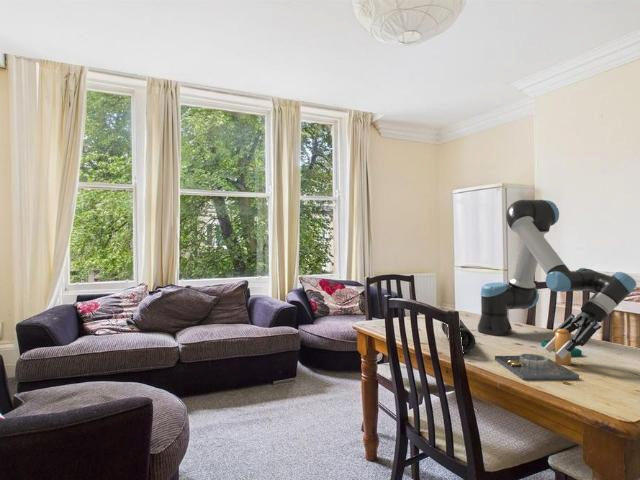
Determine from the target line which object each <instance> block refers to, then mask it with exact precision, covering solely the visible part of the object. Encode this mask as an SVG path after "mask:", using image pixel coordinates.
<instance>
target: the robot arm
mask: <svg viewBox="0 0 640 480" xmlns="http://www.w3.org/2000/svg"><path fill="white" fill-rule="evenodd" d="M505 215H506V217H505V219H506V222H507V225H508V227H509V228H510V230H511V231H512V232H513V233H517V235H518V237H519V238H520V239H521V243H520V246H519V251H518V255H517V258H516V259H517V260H516V264H515V268H514V269H515V270H514V273H513V277H511V278H509V280H508V283H505V282H501V281H500V282H499V281H498V282H489V283H485V284H483V285H482V287H481V290H480V298H481V300H480V301H481V302H480V303H481V305H480V306H481V307H480V308H481V309H480V311H481V312H480V313H481V315H480V317H479V321H478V323H477V332H479V333H481V334H485V335H491V336H492V335H493V336H510V335H511V334H512V333H513V328H512V325H511V322H510V320H509V316H508V315H509V312H508V311H509V310H526V309H531V308H533V307H535V306H536V305H537V303H538V301H539V298H540V297H539V295H540V294H539V293H538V292H539V290H538V288H537V287H536V283H535V282H534V278H535V275H536V271H537V268H538V266H537V265H538V264H539V266H540V268H541V269H542V270H543V272H544V273H545V274H546V276H545V283H546V287H547V288H548V290H550V291H552V292H561V293H566V292H583V291H586V292H587V291H591V292H594V294H593V295H591V297H590V298H589V299H588V301H586V302H585V303H584V304H583V305H582V306H581V307H580V310H581V311H580V313H579V314H577V315H575V314H574V313H571V314H570V315H569V316H568V317H567V318H566V320H565V321H564V322H562V323H561V324H560V325H559V326H558V327H557V328H555V330H553V333H554V334H555V332H556V331H557V329H566V330H569V333H571V334H572V333H573V332H575V333H574V335H573V337H571V339H570V340H571V341H570V340H568V341H567V342H566V343H565V344H564V345H563V346H562V347H561V348H560V349H559V351H558V352H557V353H556V354H557V355H558V356H559V357H560V358H561V359H563V358H564V357H565V356H566V355H567V354H568V353H569V352H571V351H572V350H573V349H574V348H577V347H578V346H580V347H584V346H585V345H586V344H587V343H588V342H589V341H590V339H591V338H592V336H593V335H594V334H595V333H596V332H597V331H598V330H600V329H601V328H602V325H601V324H600V323H602V322H604V320H605V319H606V318H607V317H608V315H609V314H611V313H612V311H614V310H615V309H616V308H617V307H618V306H619V305H620V303H621V302H622V301H624V300H625V299H626V298H627V297H628V296H629V295H631V293H632V291H633V290H634V289H635V288H636V287H637V281H636V280H635V279H634V278H633V277H632V276H631V275H629V274H627V273H625V272H622V271H617V272H615V273H613V274H612V275H607V274H605V273H603V272H599V271H596V270H594V269H591V268H586V267H580V268H578V269H577V270H574V271H572V270H570V269H569V267H568V266H567V265H566V264H565V262H564V261H563V259H562V258H561V257H560V256H559V254H558V253H557V252H556V251H555V249H554V248H553V246H552V245H551V244H550V242H548V240H547V238H546V237H545V235H546V234H547V233H549V232H550V229H551V226H554V225H556V224H557V222H558V220H559V219H560V210H559V208H558V206H557V205H556V203H555V202H553V201H551V200H548V199H547V200H545V199H519V200H516V201H514V202H512V203H511V204H510V205H509V206H508V208H507V210H506V213H505ZM550 340H551V341H550V342H549V343H548V344H547V345H546V346H545V347H543V348H544V349H545V350H546V351H547V352H548V353H549V354H551V353H552V352H554V351H553V350H554V349H555V336H553V338H551V339H550Z"/></svg>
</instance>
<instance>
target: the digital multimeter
mask: <svg viewBox="0 0 640 480" xmlns="http://www.w3.org/2000/svg"><path fill="white" fill-rule="evenodd" d="M551 340H552V339H547V340H542V341H541V343H540V345H541V346H540V347H542V348H544V347H545V346H546V345H547V344H548V343H549V342H550V341H551ZM552 352H554V353H555V349H554V350H553V351H552ZM581 356H583V351H582V350H581V349H580V348H577V347H575V348H574V349H573V350H572V351H571V357H581Z"/></svg>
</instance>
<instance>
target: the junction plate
mask: <svg viewBox="0 0 640 480" xmlns="http://www.w3.org/2000/svg"><path fill="white" fill-rule="evenodd" d="M494 361H495V362H497V363H498V364H499V365H501V366H503V368H506V369H507V370H509V372H511V373H512V374H514V375H516V376H517V377H518V378H520V379H521V380H523V381H526V380H527V381H528V380H531V381H532V380H533V381H534V380H535V381H537V380H538V381H539V380H541V381H542V380H545V381H546V380H547V381H549V380H551V381H552V380H553V381H554V380H556V381H557V380H559V381H561V380H580V374H578V373H577V372H575V371H573V370H571V369H569V368H567V367H565V365H561V364H558V363H556V362H555V360H552V359H550V358H548V357H547V356H545V355H540V354H537V353H536V354H534V353H522V354H519V355H494Z"/></svg>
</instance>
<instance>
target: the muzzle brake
mask: <svg viewBox="0 0 640 480" xmlns="http://www.w3.org/2000/svg"><path fill="white" fill-rule="evenodd" d="M441 330H442V332H443V333H444V335H445V336H446V337H447V338H448V327H447V325H446V324H444V323H442V322H441ZM460 332H461V337H462V346H463V352H464V354H463V355H465V354H466V353H469V352H470V351H472V350H473V349H474V348H475V347H476V346H475V345H476V338H475V335H474V334H473V332H471V331H470V329H469V328H468V327H467V326H466V324H464V322H463V321H462V319H460Z"/></svg>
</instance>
